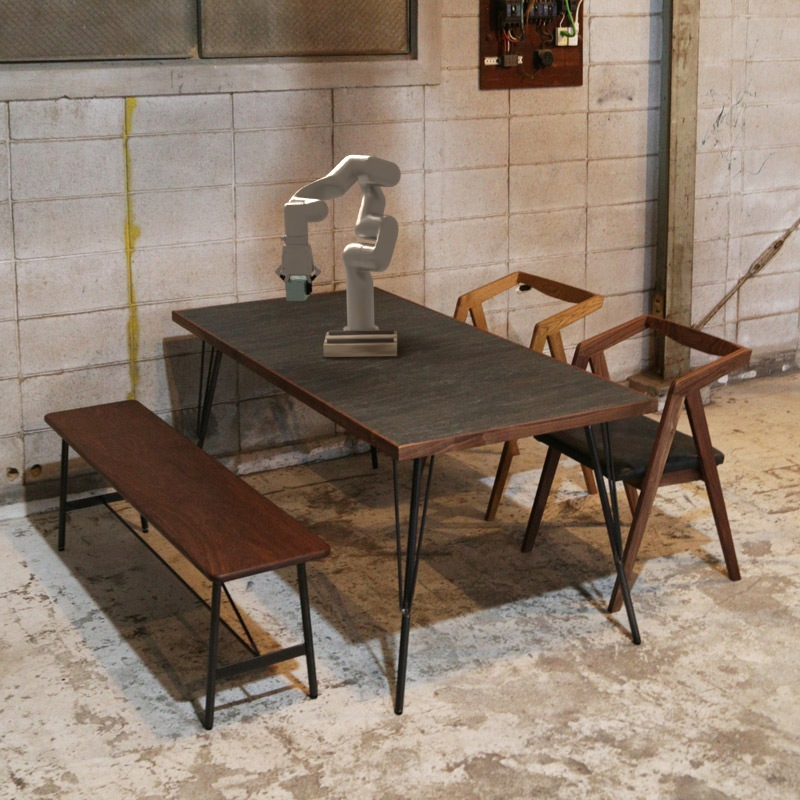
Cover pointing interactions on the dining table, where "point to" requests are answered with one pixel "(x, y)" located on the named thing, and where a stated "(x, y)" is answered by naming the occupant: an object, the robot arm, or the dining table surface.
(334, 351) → the stand
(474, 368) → the dining table surface
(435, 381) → the dining table surface
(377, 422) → the dining table surface
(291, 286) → the housing
